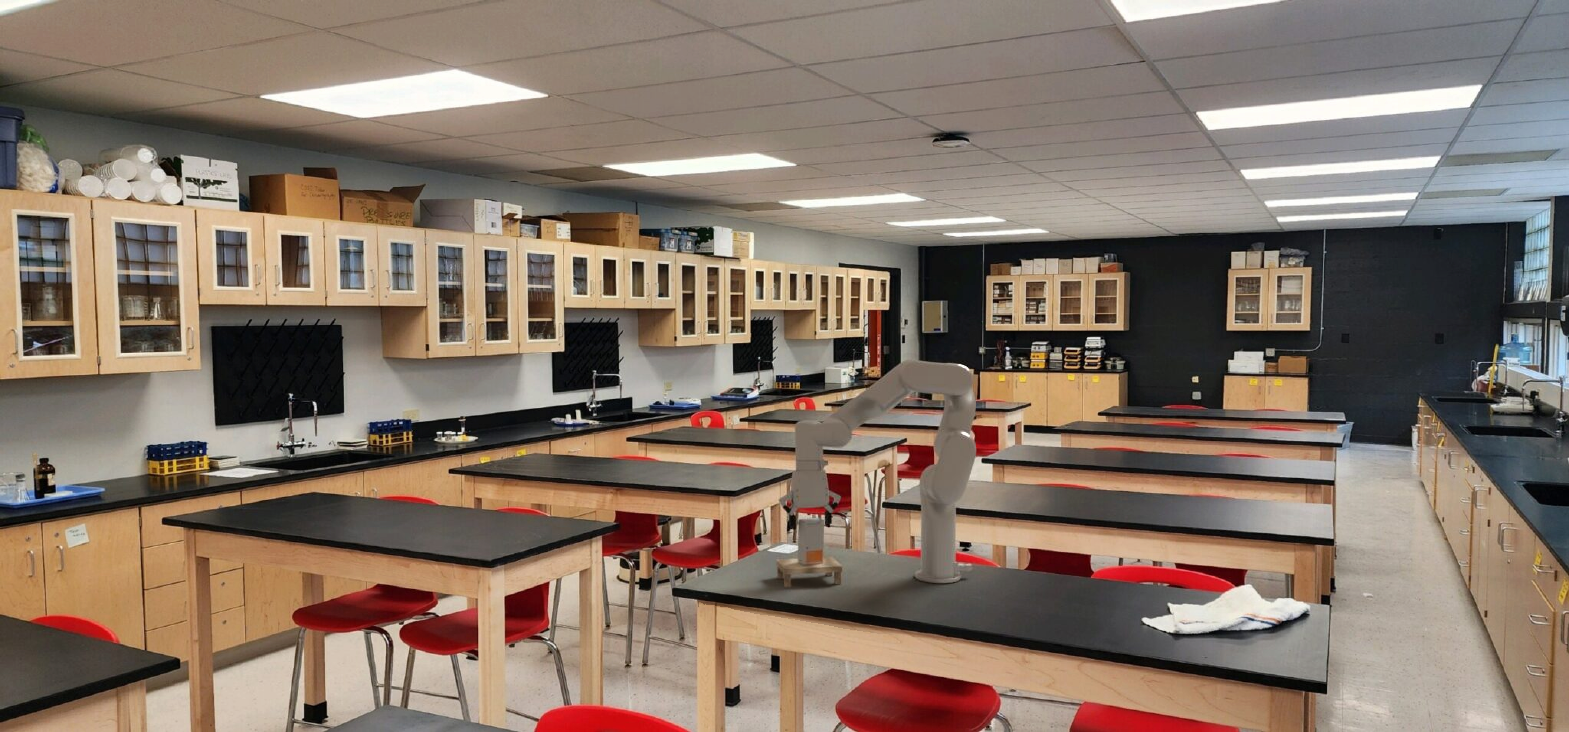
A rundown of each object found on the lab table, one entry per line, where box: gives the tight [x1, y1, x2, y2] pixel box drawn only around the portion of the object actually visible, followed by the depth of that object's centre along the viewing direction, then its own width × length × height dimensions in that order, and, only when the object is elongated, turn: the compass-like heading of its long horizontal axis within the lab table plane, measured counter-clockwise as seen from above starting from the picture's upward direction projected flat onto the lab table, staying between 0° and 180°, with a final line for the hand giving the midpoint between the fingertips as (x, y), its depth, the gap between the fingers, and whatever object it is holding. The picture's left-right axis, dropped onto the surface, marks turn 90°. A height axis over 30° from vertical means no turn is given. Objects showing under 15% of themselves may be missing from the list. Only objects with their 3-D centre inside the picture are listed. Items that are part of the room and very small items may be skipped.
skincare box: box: [797, 517, 825, 565], centre depth 260 cm, size 6×4×12 cm
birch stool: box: [775, 556, 843, 588], centre depth 260 cm, size 16×11×5 cm
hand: (810, 527), depth 259 cm, fingers open, 9 cm apart
